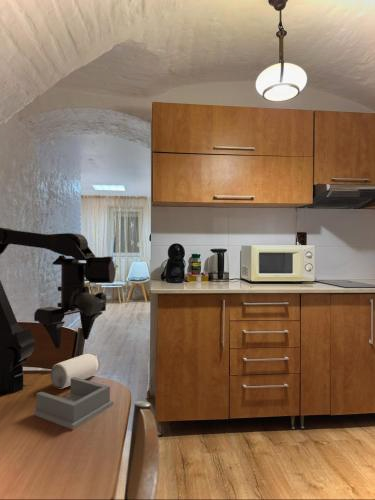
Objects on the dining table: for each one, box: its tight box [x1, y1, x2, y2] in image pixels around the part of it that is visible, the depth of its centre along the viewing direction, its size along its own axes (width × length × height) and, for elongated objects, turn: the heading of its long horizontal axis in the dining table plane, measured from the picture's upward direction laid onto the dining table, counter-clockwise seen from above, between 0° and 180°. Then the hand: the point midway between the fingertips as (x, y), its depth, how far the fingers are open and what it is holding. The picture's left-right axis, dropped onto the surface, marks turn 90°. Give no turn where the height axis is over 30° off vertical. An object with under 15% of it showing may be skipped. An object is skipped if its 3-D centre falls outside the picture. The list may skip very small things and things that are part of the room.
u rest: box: [33, 377, 114, 431], centre depth 75 cm, size 12×12×4 cm
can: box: [49, 353, 101, 390], centre depth 91 cm, size 6×6×12 cm
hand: (72, 343), depth 85 cm, fingers open, 9 cm apart
